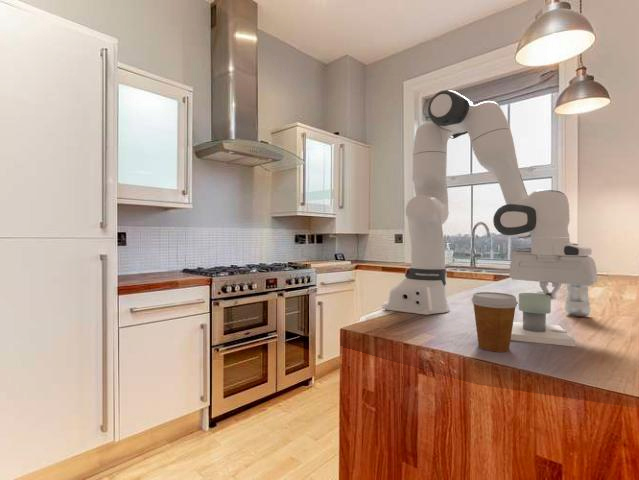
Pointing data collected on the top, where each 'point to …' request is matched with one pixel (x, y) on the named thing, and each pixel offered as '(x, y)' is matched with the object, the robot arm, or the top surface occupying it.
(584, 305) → the plastic bottle
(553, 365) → the top surface
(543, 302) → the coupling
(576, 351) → the top surface
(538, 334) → the lock base
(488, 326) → the disposable coffee cup
